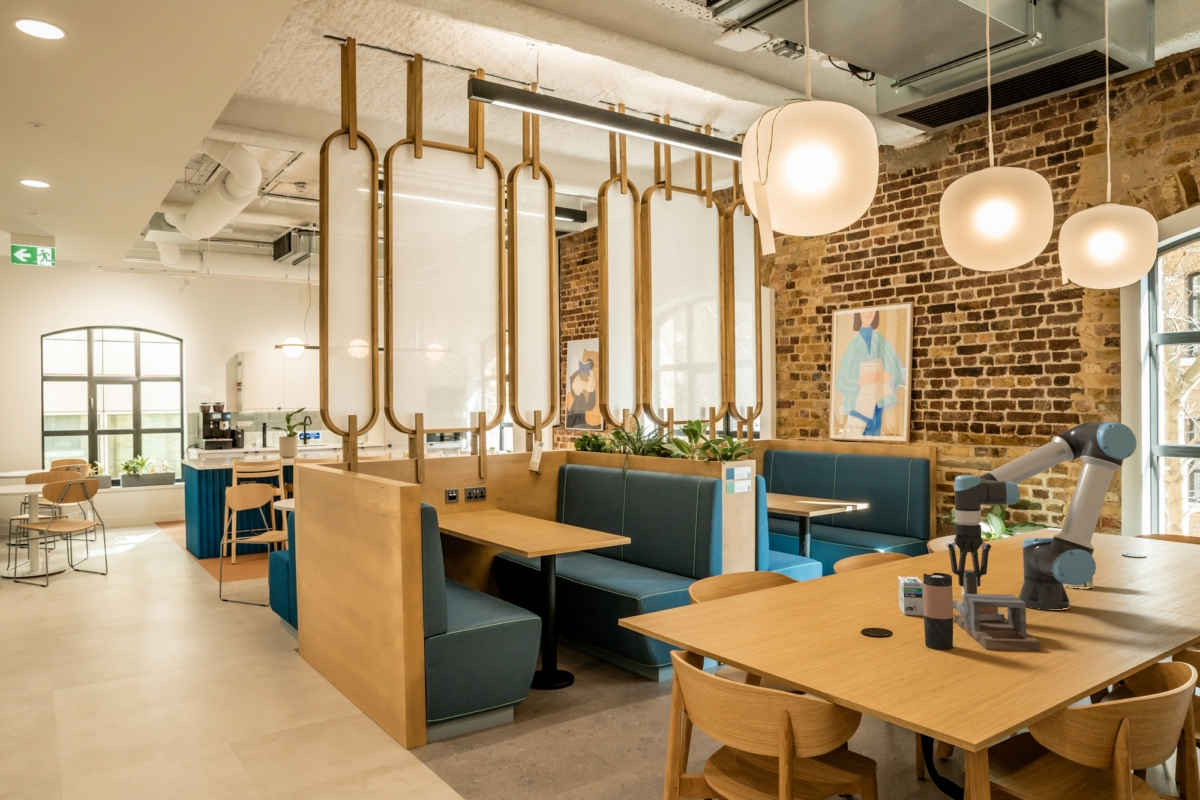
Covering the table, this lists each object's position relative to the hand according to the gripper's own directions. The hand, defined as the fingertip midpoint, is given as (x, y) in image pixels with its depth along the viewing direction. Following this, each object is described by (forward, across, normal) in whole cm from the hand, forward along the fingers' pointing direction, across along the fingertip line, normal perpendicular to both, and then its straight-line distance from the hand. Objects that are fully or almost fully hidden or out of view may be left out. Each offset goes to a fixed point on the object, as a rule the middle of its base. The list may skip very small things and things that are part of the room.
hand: (969, 596), depth 254 cm
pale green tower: (+7, -53, -50) cm, 73 cm away
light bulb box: (+7, +17, -5) cm, 19 cm away
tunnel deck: (+7, 0, +22) cm, 23 cm away
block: (+4, 0, +12) cm, 13 cm away
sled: (+4, 0, +8) cm, 8 cm away
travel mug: (+7, +19, +35) cm, 41 cm away
